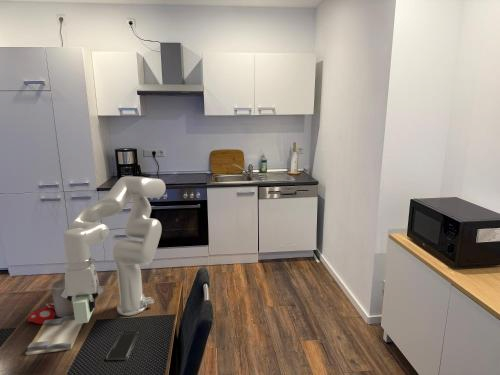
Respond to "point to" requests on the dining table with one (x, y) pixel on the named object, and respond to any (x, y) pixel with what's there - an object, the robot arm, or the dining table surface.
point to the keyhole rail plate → (55, 336)
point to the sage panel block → (82, 309)
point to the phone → (122, 346)
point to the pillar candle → (61, 300)
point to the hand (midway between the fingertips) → (85, 310)
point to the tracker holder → (42, 314)
